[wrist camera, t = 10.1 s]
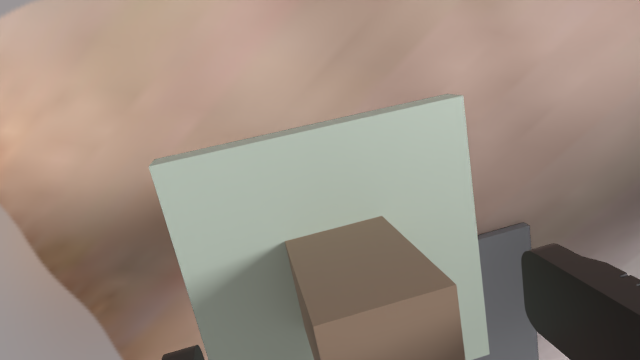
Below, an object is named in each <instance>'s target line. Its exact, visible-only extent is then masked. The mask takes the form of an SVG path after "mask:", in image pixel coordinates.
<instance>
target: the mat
mask: <svg viewBox="0 0 640 360" xmlns="http://www.w3.org/2000/svg"><path fill="white" fill-rule="evenodd" d="M478 245H479V255H480V265H481V274H482V284H483V294H484V304H485V313H486V323H487V333H488V343H489V352H490V354H489V355H486V356H483V357H479V358H476V359H473V360H539V358H538V343H537V331H536V330H535V328H534V327H533V326H532V324H531V323H530V321H529V319H528V317H527V314H526V311H525V305H524V293H523V279H522V266H521V258H522V254H523V253H524V252H525V251H528V250H531V240H530V226H529V225H528V224H526V223H520V224H517V225H513V226H510V227H506V228H502V229H499V230H495V231H492V232H488V233H485V234H481V235H478Z"/></svg>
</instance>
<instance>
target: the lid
mask: <svg viewBox="0 0 640 360" xmlns="http://www.w3.org/2000/svg"><path fill="white" fill-rule="evenodd" d="M149 169H150V172H151V176H152V179H153V182H154V185H155V188H156V192H157V195H158V198H159V201H160V205H161V208H162V211H163V214H164V218H165V221H166V224H167V227H168V230H169V234H170V237H171V240H172V243H173V247H174V250H175V253H176V256H177V259H178V263H179V266H180V269H181V272H182V276H183V279H184V282H185V285H186V289H187V292H188V295H189V298H190V301H191V305H192V308H193V311H194V314H195V318H196V321H197V324H198V327H199V330H200V334H201V337H202V340H203V343H204V347H205V350H206V353H207V356H208V360H473V359H476V358H479V357H483V356H486V355H489V354H490V352H489V343H488V333H487V323H486V313H485V304H484V294H483V284H482V274H481V265H480V255H479V245H478V235H477V225H476V216H475V206H474V196H473V186H472V177H471V167H470V157H469V147H468V138H467V128H466V118H465V108H464V99H463V95H453V94H445V95H440V96H436V97H431V98H427V99H422V100H418V101H413V102H409V103H404V104H400V105H395V106H391V107H387V108H382V109H378V110H373V111H369V112H364V113H360V114H355V115H351V116H346V117H342V118H337V119H333V120H329V121H324V122H320V123H315V124H311V125H306V126H302V127H297V128H293V129H288V130H284V131H279V132H275V133H270V134H266V135H262V136H257V137H253V138H248V139H244V140H239V141H235V142H230V143H226V144H221V145H217V146H212V147H208V148H204V149H199V150H195V151H190V152H186V153H181V154H177V155H172V156H168V157H163V158H159V159H155V160H154V161H153V162H152V163H151V164H150V166H149Z"/></svg>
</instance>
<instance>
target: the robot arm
mask: <svg viewBox="0 0 640 360" xmlns="http://www.w3.org/2000/svg"><path fill="white" fill-rule="evenodd" d="M521 266H522V279H523V293H524V305H525V311H526V314H527V317H528V319H529V321H530V323H531V324H532V326H533V327H534V328H535V330H536V331H537V332H538V333H539V334H541V335H542V336H543V337H544V338H545V339H547V340H548V341H549V342H550V343H551V344H553V345H554V346H555V347H556V348H557V349H558V350H560V351H561V352H562V353H563V354H564V355H566V356H567V357H568V358H569V359H570V360H640V280H639V279H637V278H635V277H633V276H631V275H630V276H628V275H627V273H626V272H624V271H622V270H620V269H618V268H616V267H614V266H612V265H610V264H608V263H605V262H601V261H597V260H593V259H590V258H586V257H581V256H580V255H578V254H576V253H574V252H572V251H570V250H568V249H566V248H564V247H562V246H560V245H558V244H549V245H546V246H542V247H539V248H535V249H532V250H528V251H525V252H524V253H523V254H522V258H521ZM162 360H204V357H203V354H202V351H201V349H200V347H199V346H198V345H196V346H192V347H189V348H185V349H182V350H178V351H175V352H171V353H168V354H164V355H163V357H162Z"/></svg>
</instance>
